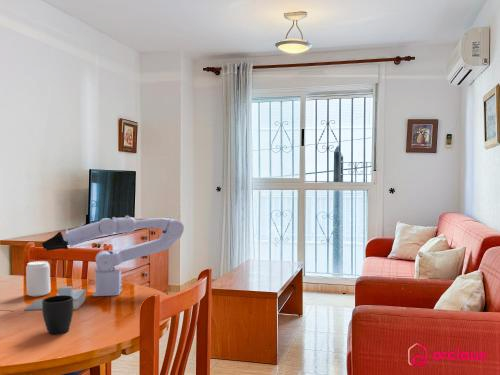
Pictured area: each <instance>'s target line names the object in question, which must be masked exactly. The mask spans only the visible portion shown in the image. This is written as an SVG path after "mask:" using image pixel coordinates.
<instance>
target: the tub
mask: <svg viewBox="0 0 500 375" xmlns="http://www.w3.org/2000/svg"><path fill="white" fill-rule="evenodd" d="M85 301H86V292H85V293H84V295H83V296H82V297H81V298H80V299H79V300H78V301H73V311H74V310H75V311H76V310H77V311H78V309H80V307H82V305H83V304H84V303H85Z"/></svg>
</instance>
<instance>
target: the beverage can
mask: <svg viewBox="0 0 500 375" xmlns="http://www.w3.org/2000/svg"><path fill="white" fill-rule="evenodd" d="M26 264H27V265H26V267H25V273H26V274H25V277H26V279H25V280H26V281H25V282H26V295H27V296H29V297H34V298H36V297H37V298H38V297H44V296H47V295H48V294H50V293H51V270H50V269H51V267H50V263H49V261H46V260H38V261H30V262H28V263H26Z"/></svg>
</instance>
